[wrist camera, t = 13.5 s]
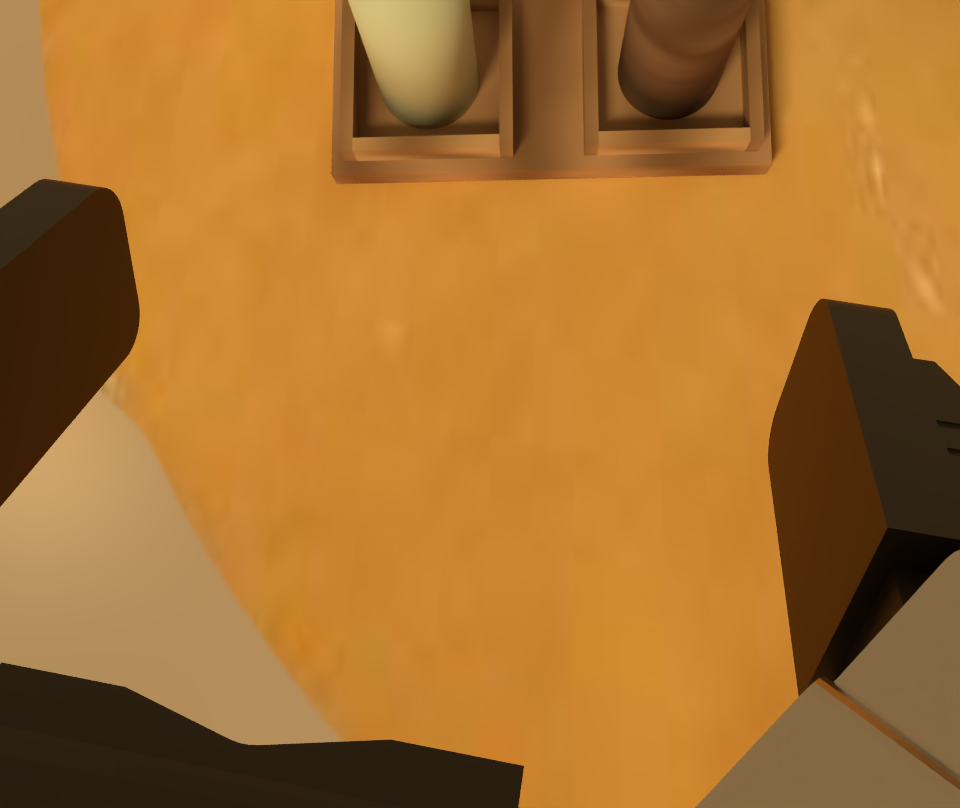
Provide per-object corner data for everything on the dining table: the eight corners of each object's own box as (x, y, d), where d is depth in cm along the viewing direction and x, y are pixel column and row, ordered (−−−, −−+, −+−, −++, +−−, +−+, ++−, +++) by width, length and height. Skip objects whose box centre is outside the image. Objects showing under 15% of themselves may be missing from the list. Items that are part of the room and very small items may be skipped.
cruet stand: (757, -8, 43) (770, -39, 41) (765, 173, 42) (779, 152, 40) (340, 7, 44) (329, -23, 42) (337, 183, 43) (325, 163, 41)
